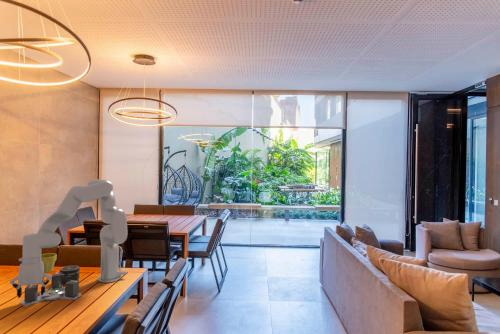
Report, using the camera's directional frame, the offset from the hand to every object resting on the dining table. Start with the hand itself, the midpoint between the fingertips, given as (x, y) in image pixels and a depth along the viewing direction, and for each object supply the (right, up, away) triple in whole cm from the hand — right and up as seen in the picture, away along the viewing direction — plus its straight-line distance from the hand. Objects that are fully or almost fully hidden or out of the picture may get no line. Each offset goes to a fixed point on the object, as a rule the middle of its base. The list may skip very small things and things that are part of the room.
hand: (31, 295), depth 154 cm
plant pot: (-21, -3, +44) cm, 49 cm away
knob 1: (0, -2, 0) cm, 2 cm away
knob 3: (+16, -2, +7) cm, 18 cm away
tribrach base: (+5, -3, +10) cm, 12 cm away
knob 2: (+2, -2, +17) cm, 17 cm away
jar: (+2, -4, +28) cm, 29 cm away
